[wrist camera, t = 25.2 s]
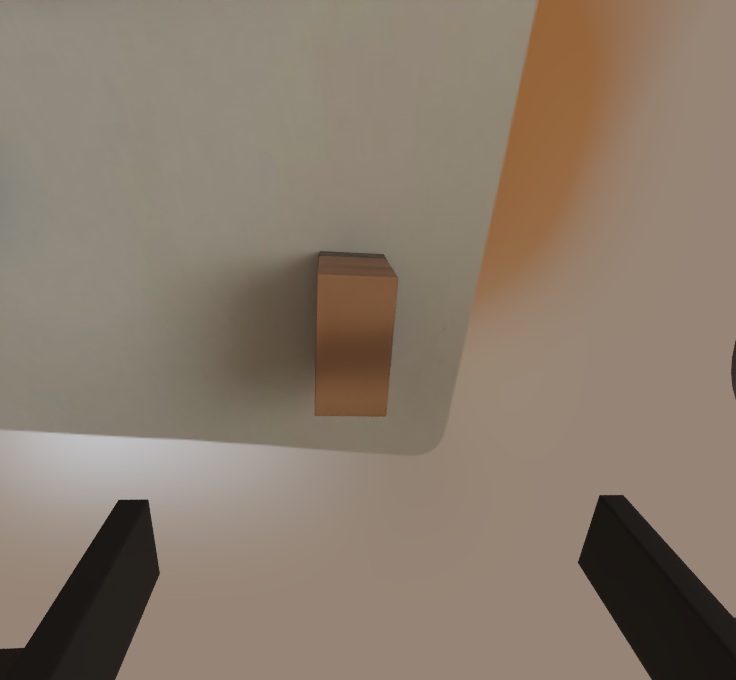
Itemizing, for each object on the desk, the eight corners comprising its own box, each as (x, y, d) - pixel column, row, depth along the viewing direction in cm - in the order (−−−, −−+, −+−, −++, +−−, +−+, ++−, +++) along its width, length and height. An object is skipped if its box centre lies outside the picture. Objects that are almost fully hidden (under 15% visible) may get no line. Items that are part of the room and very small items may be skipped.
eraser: (319, 251, 30) (317, 273, 24) (383, 254, 30) (398, 277, 24) (317, 368, 33) (314, 416, 27) (375, 369, 34) (386, 417, 27)
